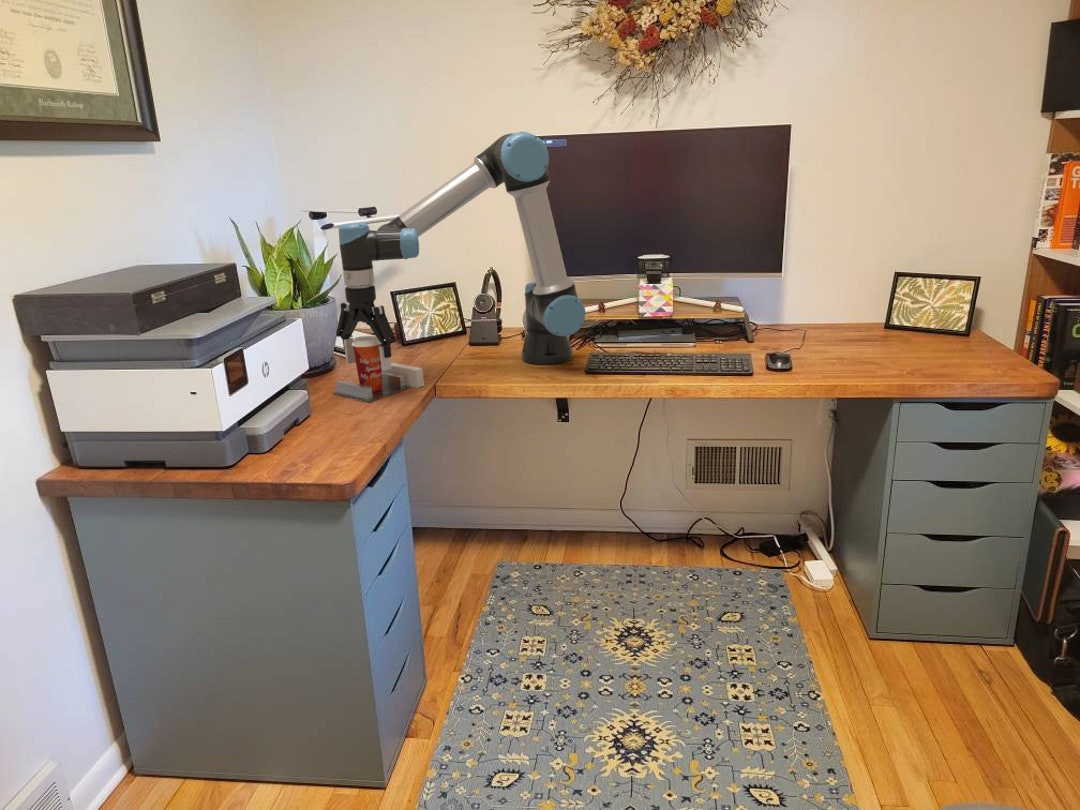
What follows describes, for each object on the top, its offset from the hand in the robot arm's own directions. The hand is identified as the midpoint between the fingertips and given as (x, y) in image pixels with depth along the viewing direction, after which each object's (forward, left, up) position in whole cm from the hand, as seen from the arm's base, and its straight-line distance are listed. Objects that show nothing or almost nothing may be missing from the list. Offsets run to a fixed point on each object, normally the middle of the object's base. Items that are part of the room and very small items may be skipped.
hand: (368, 366), depth 202 cm
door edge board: (0, -10, -7) cm, 12 cm away
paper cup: (0, 0, -7) cm, 7 cm away
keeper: (0, 0, -7) cm, 7 cm away
